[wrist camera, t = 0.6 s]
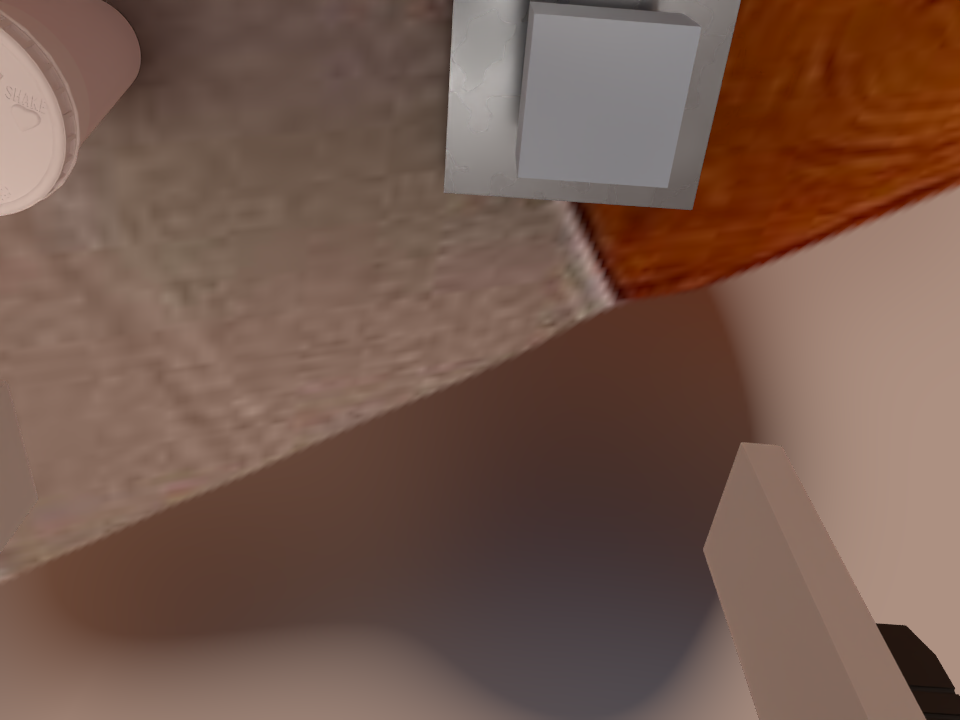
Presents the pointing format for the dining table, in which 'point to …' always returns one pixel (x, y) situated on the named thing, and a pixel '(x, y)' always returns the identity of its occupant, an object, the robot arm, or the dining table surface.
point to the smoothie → (56, 88)
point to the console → (497, 91)
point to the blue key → (603, 93)
